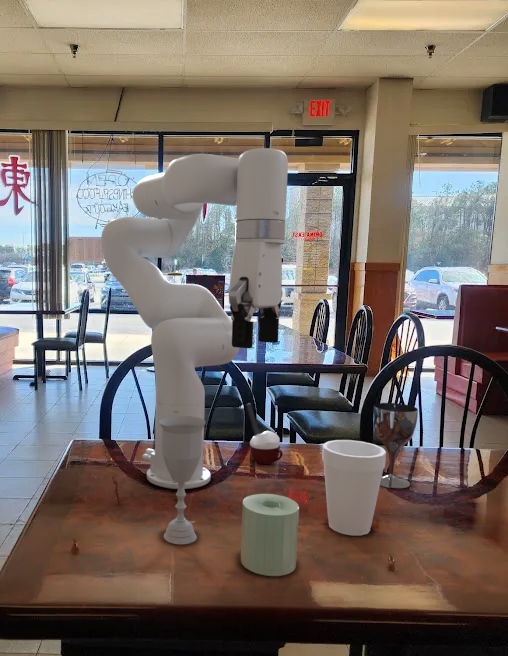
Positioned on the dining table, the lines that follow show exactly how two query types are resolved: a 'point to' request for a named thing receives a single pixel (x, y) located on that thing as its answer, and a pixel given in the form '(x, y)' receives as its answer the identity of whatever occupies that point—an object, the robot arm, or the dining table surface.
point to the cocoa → (263, 442)
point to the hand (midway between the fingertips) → (255, 344)
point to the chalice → (181, 467)
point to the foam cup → (352, 484)
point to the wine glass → (394, 434)
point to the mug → (269, 534)
